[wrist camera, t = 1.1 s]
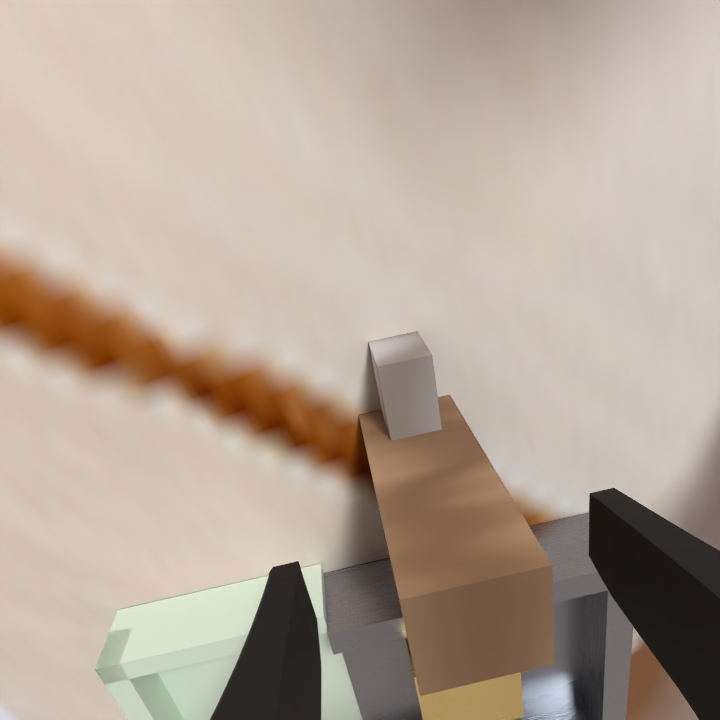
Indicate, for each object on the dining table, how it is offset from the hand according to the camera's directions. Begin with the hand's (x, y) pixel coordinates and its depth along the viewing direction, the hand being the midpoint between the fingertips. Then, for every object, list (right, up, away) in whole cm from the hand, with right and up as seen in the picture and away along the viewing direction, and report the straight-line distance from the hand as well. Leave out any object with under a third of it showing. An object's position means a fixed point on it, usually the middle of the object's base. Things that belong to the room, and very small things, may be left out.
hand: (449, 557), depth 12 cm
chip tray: (-6, -9, +8) cm, 14 cm away
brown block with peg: (-1, +2, +4) cm, 5 cm away
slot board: (+3, -7, +9) cm, 11 cm away
